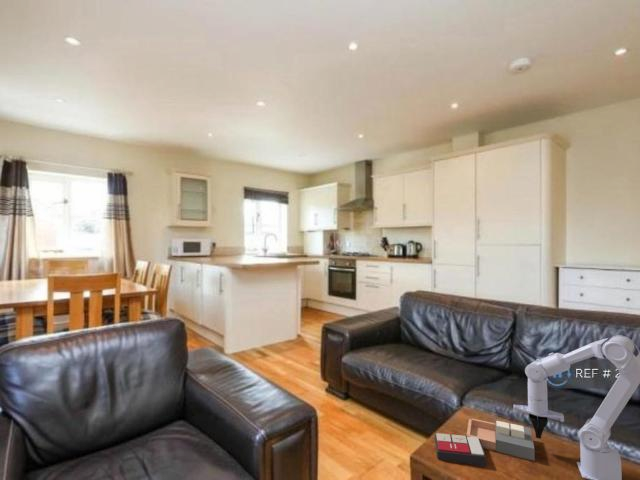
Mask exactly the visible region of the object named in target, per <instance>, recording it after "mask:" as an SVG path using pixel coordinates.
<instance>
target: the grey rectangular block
mask: <svg viewBox="0 0 640 480" xmlns="http://www.w3.org/2000/svg"><path fill="white" fill-rule="evenodd" d="M510 424H511V423H509V435H504V434H500V433H497V425H496V424H495V438H496V451H495V452H498V453H501V454H505V455H509V456H513V457H516V458H521V459H525V460H530V461H534V462H535V461H536V460H535V459H536V457H535V456H536V455H535V454H536V452H535V445H534V444H535V443H534V441H533V435H532V430H531V427H526V426H523V427H524V439H522V438H518V437H513V436H511V428H510Z"/></svg>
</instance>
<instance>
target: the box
mask: <svg viewBox="0 0 640 480" xmlns="http://www.w3.org/2000/svg"><path fill="white" fill-rule="evenodd" d="M467 423H468V424H467V428H466V429H467V431H466V437H477V438H479V439H480V441H481V444H482V447H483V450H484V449H485V450H490V451H493V452H496V422H495V423H494V422H490V421H485V420H481V419H476V418H471V417H468V422H467Z"/></svg>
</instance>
